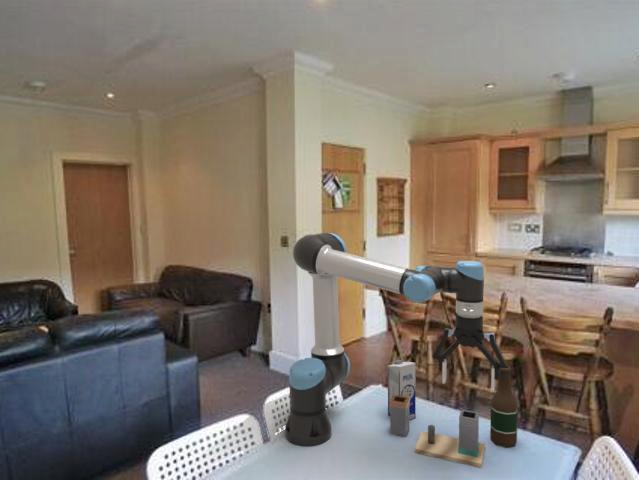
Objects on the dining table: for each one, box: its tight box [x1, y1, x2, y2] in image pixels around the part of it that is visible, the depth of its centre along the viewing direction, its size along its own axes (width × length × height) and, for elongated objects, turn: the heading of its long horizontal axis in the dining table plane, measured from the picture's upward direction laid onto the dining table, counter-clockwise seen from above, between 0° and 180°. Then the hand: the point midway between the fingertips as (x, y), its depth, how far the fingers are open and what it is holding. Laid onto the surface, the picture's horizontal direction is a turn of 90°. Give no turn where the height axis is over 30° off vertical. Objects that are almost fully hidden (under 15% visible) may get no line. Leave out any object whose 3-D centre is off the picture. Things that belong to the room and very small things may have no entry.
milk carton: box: [387, 359, 417, 421], centre depth 151 cm, size 7×7×20 cm
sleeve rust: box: [389, 395, 410, 438], centre depth 142 cm, size 5×5×11 cm
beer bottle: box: [489, 365, 519, 449], centre depth 134 cm, size 8×8×24 cm
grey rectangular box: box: [458, 409, 480, 457], centre depth 128 cm, size 5×5×11 cm
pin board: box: [413, 424, 486, 469], centre depth 131 cm, size 19×11×6 cm, turn 65°
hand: (468, 385), depth 128 cm, fingers open, 13 cm apart
